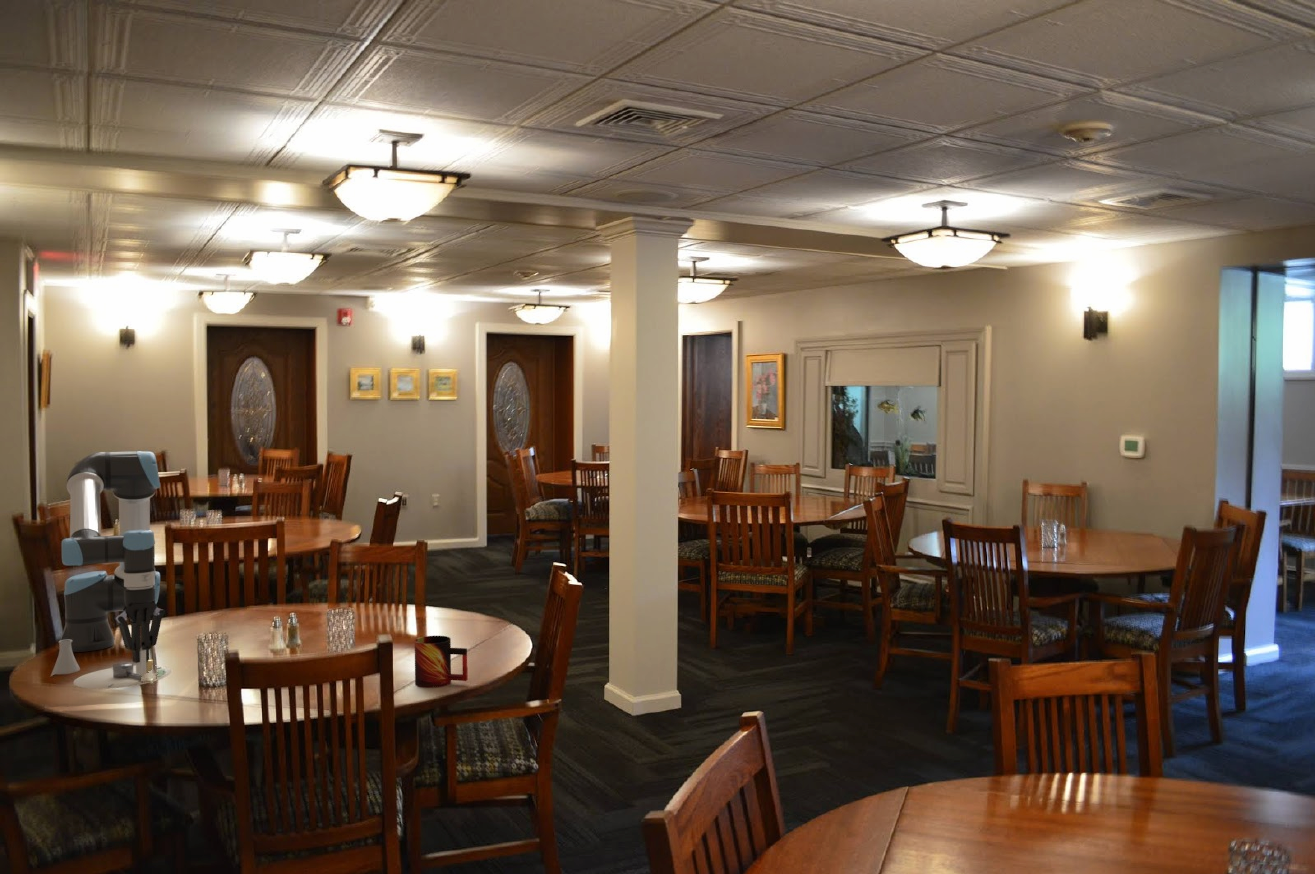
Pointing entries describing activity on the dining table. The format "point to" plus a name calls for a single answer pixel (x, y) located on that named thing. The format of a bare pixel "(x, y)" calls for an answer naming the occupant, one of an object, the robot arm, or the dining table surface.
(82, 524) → the robot arm
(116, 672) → the crank handle
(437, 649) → the mug
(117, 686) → the dial board
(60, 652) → the flask
